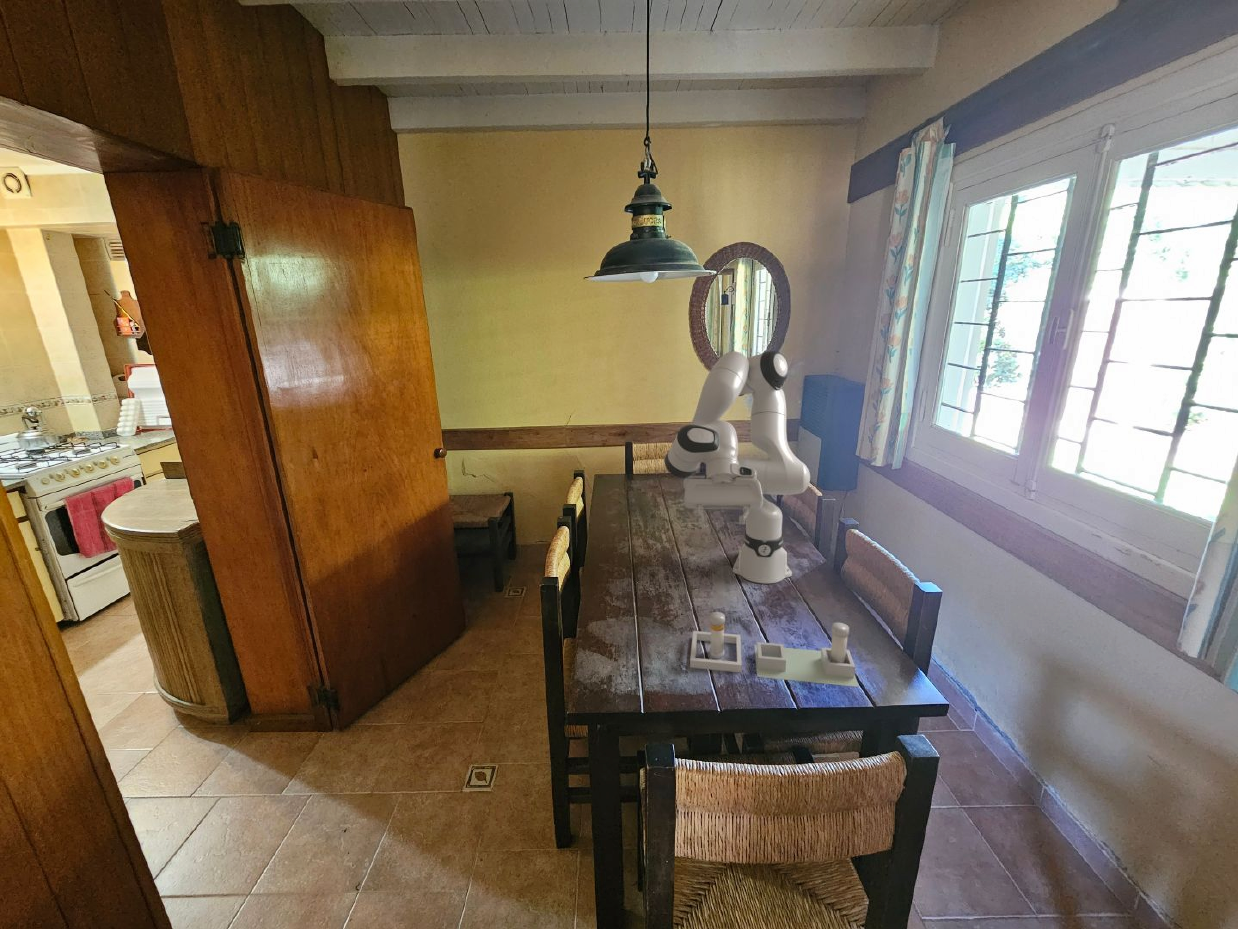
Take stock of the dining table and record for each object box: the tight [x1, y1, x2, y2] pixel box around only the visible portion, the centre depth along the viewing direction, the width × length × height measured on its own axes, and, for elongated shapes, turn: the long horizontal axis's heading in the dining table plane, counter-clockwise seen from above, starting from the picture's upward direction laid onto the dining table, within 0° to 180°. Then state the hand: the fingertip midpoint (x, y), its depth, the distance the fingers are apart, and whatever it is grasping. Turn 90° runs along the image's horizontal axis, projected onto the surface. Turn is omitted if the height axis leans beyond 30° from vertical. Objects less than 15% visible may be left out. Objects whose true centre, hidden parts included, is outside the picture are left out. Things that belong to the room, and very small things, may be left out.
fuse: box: [829, 622, 850, 664], centre depth 117 cm, size 4×4×11 cm
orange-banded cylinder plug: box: [709, 611, 726, 660], centre depth 124 cm, size 4×4×11 cm
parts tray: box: [689, 630, 743, 673], centre depth 125 cm, size 12×12×3 cm
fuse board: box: [753, 641, 860, 688], centre depth 120 cm, size 12×22×4 cm, turn 78°
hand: (723, 523), depth 129 cm, fingers open, 8 cm apart
